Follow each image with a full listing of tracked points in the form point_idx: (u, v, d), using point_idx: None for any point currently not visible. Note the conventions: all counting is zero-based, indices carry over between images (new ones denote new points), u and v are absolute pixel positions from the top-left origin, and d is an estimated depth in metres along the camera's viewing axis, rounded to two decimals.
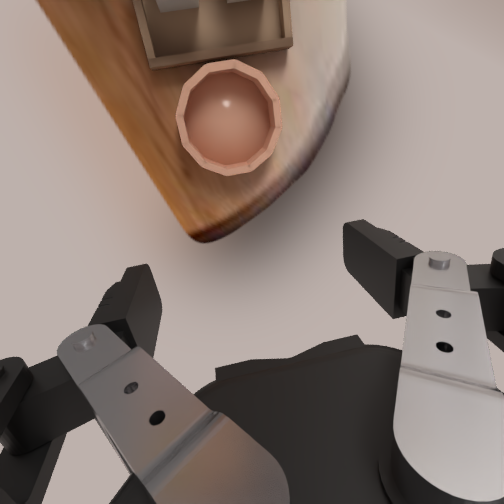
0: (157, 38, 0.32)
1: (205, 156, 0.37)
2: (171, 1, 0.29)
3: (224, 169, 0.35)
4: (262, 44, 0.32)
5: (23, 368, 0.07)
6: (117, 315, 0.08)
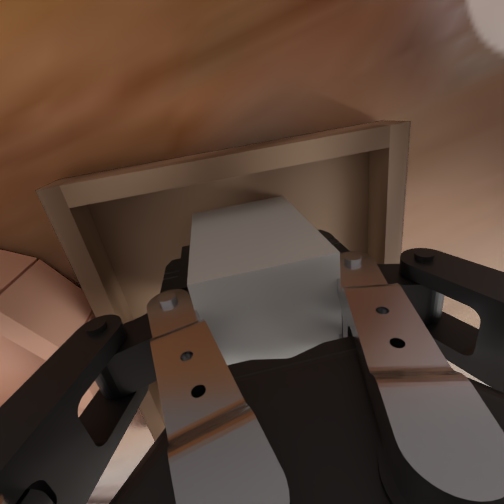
0: (136, 202, 0.12)
1: None
2: None
3: None
4: (155, 419, 0.16)
5: (119, 328, 0.08)
6: None
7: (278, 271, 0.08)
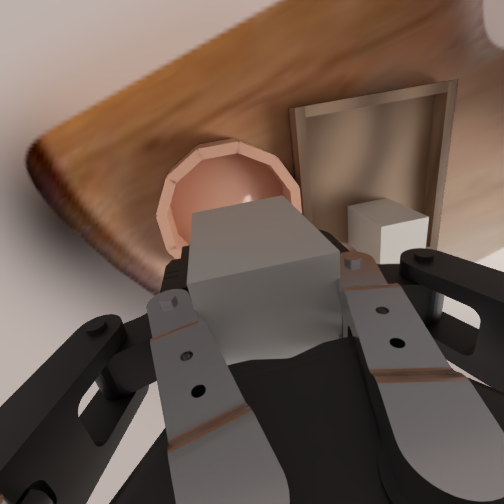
0: (322, 120, 0.25)
1: None
2: None
3: (165, 212, 0.23)
4: None
5: (119, 328, 0.08)
6: None
7: (278, 270, 0.08)
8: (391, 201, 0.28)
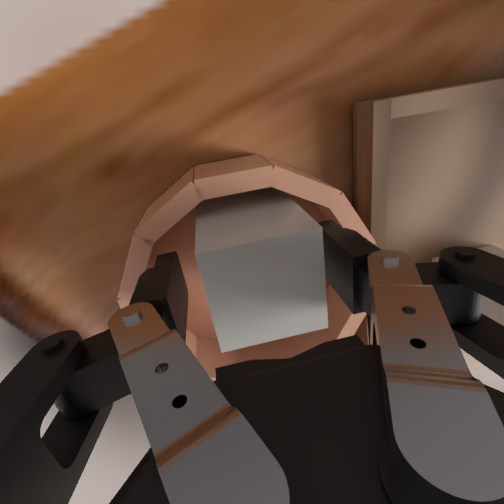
0: (409, 124, 0.15)
1: None
2: None
3: None
4: None
5: (78, 342, 0.07)
6: (157, 295, 0.09)
7: (271, 243, 0.09)
8: None
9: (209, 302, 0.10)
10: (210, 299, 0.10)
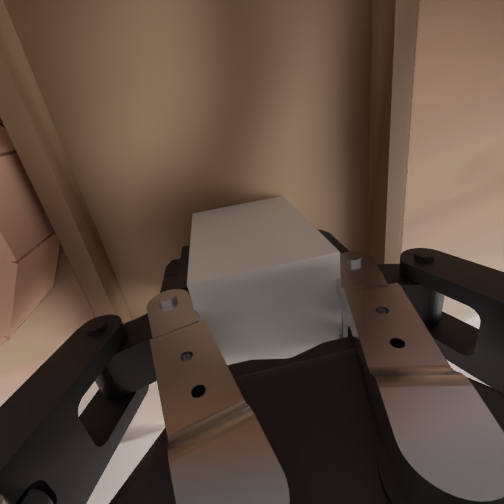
0: None
1: None
2: None
3: None
4: (106, 310, 0.12)
5: (119, 328, 0.08)
6: None
7: None
8: (284, 203, 0.12)
9: None
10: None
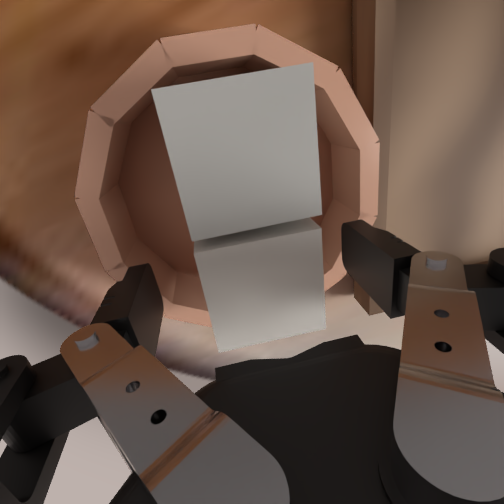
0: (417, 13, 0.13)
1: (136, 124, 0.13)
2: None
3: (96, 190, 0.11)
4: None
5: (26, 366, 0.07)
6: (119, 314, 0.08)
7: (248, 81, 0.07)
8: None
9: (173, 165, 0.08)
10: (174, 161, 0.08)
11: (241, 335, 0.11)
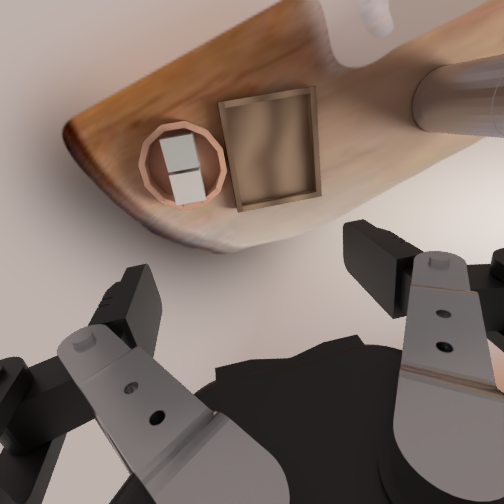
0: (238, 110, 0.42)
1: (153, 143, 0.42)
2: None
3: (143, 162, 0.40)
4: (237, 190, 0.46)
5: (23, 368, 0.07)
6: (117, 315, 0.08)
7: (178, 138, 0.37)
8: None
9: None
10: (164, 154, 0.37)
11: (182, 200, 0.40)
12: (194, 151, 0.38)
